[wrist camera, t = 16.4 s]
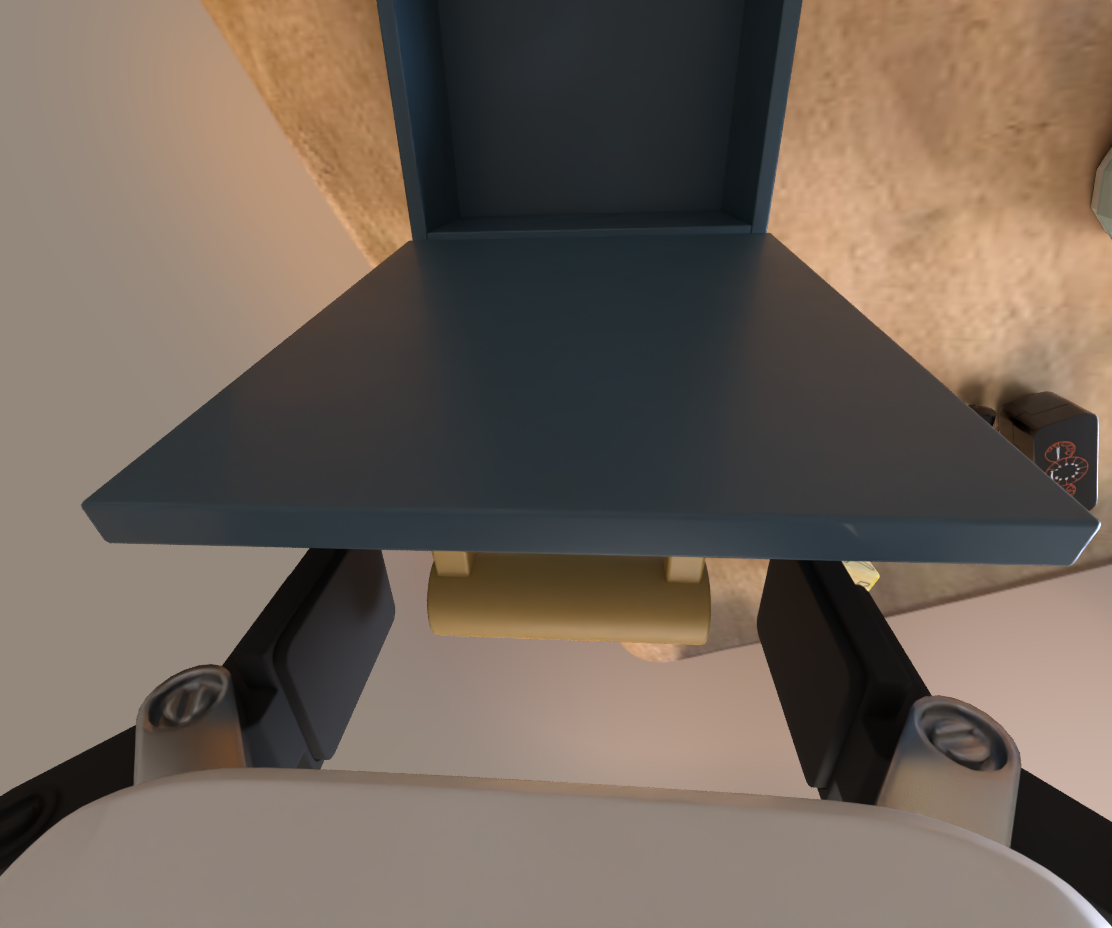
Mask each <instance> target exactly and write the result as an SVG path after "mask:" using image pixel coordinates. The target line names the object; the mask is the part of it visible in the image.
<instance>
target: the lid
mask: <svg viewBox="0 0 1112 928" xmlns="http://www.w3.org/2000/svg"><path fill="white" fill-rule="evenodd" d="M81 506H82V509H83V510H84V512H85V513H86V515H87V516H88V517H89V519H90V520H91V522H92V523H93V525H94V526H95V527H96V529H97V530H98V532H99V533H100V534H101V536H102V537H103V539H104V540H105V541H107V542H109V543H128V544H170V545H172V544H173V545H210V546H251V547H252V546H253V547H292V548H333V549H374V550H415V551H432V554H433V559H434V562H433V565H432V568H431V572H430V577H429V583H428V594H427V611H428V619H429V624H430V628H431V630H432V632H433V633H434V634H436V635H444V636H470V637H497V638H524V639H552V640H578V641H579V640H580V641H607V642H632V643H660V644H687V645H703V644H705V643H706V641H707V638H708V634H709V629H710V619H711V595H710V583H709V576H708V571H707V566H706V563H705V558H743V559H785V560H826V561H867V562H908V563H949V564H990V565H1031V566H1069V565H1072V564H1073V563H1074V562H1075V561H1076V560H1077V558H1078V557H1079V556H1080V554H1081V553H1082V551H1083V550H1084V549H1085V547H1086V546H1087V545H1088V543H1089V542H1090V540H1091V539H1092V538H1093V536H1094V535H1095V534H1096V532H1097V531H1098V529H1099V528H1100V524H1101V523H1100V521H1099V520H1098V519H1097V518H1096V517H1095V516H1094V515H1093V514H1092V513H1090V512H1089V511H1088V510H1087V509H1086V508H1085V507H1084V506H1082V505H1081V504H1080V503H1079V502H1078V501H1077V500H1076V499H1074V498H1073V497H1072V496H1071V495H1070V494H1069V493H1068V492H1066V491H1065V490H1064V489H1063V488H1062V487H1061V486H1060V485H1058V484H1057V483H1056V482H1055V481H1054V480H1053V479H1052V478H1050V477H1049V476H1048V475H1047V474H1046V473H1045V472H1043V471H1042V470H1041V469H1040V468H1039V467H1038V466H1037V465H1035V464H1034V463H1033V462H1032V461H1031V460H1030V459H1029V458H1027V457H1026V456H1025V455H1024V454H1023V453H1022V452H1021V451H1019V450H1018V449H1017V448H1016V447H1015V446H1014V445H1013V444H1011V443H1010V442H1009V441H1008V440H1007V439H1006V438H1005V437H1003V436H1002V435H1001V434H1000V433H999V432H998V431H996V430H995V429H994V428H993V427H992V426H991V425H990V424H988V423H987V422H986V421H985V420H984V419H983V418H982V417H980V416H979V415H978V414H977V413H976V412H975V411H974V410H972V409H971V408H970V407H969V406H968V405H967V404H966V403H964V402H963V401H962V400H961V399H960V398H959V397H958V396H956V395H955V394H954V393H953V392H952V391H951V390H950V389H948V388H947V387H946V386H945V385H944V384H943V383H941V382H940V381H939V380H938V379H937V378H936V377H935V376H933V375H932V374H931V373H930V372H929V371H928V370H927V369H925V368H924V367H923V366H922V365H921V364H920V363H919V362H917V361H916V360H915V359H914V358H913V357H912V356H911V355H909V354H908V353H907V352H906V351H905V350H904V349H903V348H901V347H900V346H899V345H898V344H897V343H896V342H895V341H893V340H892V339H891V338H890V337H889V336H888V335H886V334H885V333H884V332H883V331H882V330H881V329H880V328H878V327H877V326H876V325H875V324H874V323H873V322H872V321H870V320H869V319H868V318H867V317H866V316H865V315H864V314H862V313H861V312H860V311H859V310H858V309H857V308H856V307H854V306H853V305H852V304H851V303H850V302H849V301H848V300H846V299H845V298H844V297H843V296H842V295H841V294H839V293H838V292H837V291H836V290H835V289H834V288H833V287H831V286H830V285H829V284H828V283H827V282H826V281H825V280H823V279H822V278H821V277H820V276H819V275H818V274H817V273H815V272H814V271H813V270H812V269H811V268H810V267H809V266H807V265H806V264H805V263H804V262H803V261H802V260H801V259H799V258H798V257H797V256H796V255H795V254H794V253H793V252H791V251H790V250H789V249H788V248H787V247H786V246H784V245H783V244H782V243H781V242H780V241H779V240H778V239H776V238H775V237H774V236H773V235H772V234H771V233H741V234H695V235H648V236H602V237H556V238H510V239H464V240H418V241H408V242H407V243H406V244H404V245H403V246H402V247H401V248H399V249H398V250H397V251H396V252H394V253H393V254H392V255H391V256H389V257H388V258H387V259H386V260H384V261H383V262H382V263H381V264H379V265H378V266H377V267H376V268H374V269H373V270H372V271H371V272H370V273H368V274H367V275H366V276H364V277H363V278H362V279H361V280H359V281H358V282H357V283H356V284H354V285H353V286H352V287H351V288H349V289H348V290H347V291H346V292H344V293H343V294H342V295H341V296H339V297H338V298H337V299H336V300H334V301H333V302H332V303H331V304H329V305H328V306H327V307H326V308H324V309H323V310H322V311H321V312H319V313H318V314H317V315H316V316H314V317H313V318H312V319H311V320H309V321H308V322H307V323H306V324H304V325H303V326H302V327H301V328H299V329H298V330H297V331H296V332H294V333H293V334H292V335H291V336H289V337H288V338H287V339H286V340H284V341H283V342H282V343H281V344H279V345H278V346H277V347H276V348H274V349H273V350H272V351H271V352H269V353H268V354H267V355H266V356H265V357H263V358H262V359H261V360H259V361H258V362H257V363H256V364H254V365H253V366H252V367H251V368H249V369H248V370H247V371H246V372H244V373H243V374H242V375H241V376H240V377H238V378H237V379H236V380H235V381H233V382H232V383H231V384H229V385H228V386H227V387H226V388H224V389H223V390H222V391H221V392H219V393H218V394H217V395H216V396H214V397H213V398H212V399H211V400H209V401H208V402H207V403H206V404H205V405H203V406H202V407H201V408H199V409H198V410H197V411H196V412H194V413H193V414H192V415H191V416H189V417H188V418H187V419H186V420H184V421H183V422H182V423H181V424H179V425H178V426H177V427H176V428H175V429H173V430H172V431H171V432H169V433H168V434H167V435H166V436H164V437H163V438H162V439H161V440H159V441H158V442H157V443H156V444H155V445H153V446H152V447H151V448H149V449H148V450H147V451H146V452H145V453H143V454H142V455H141V456H139V457H138V458H137V459H136V460H134V461H133V462H132V463H131V464H129V465H128V466H127V467H126V468H124V469H123V470H122V471H121V472H120V473H118V474H117V475H116V476H114V477H113V478H112V479H111V480H109V481H108V482H107V483H106V484H104V485H103V486H102V487H101V488H99V489H98V490H97V491H96V492H94V493H93V494H92V495H91V496H89V497H88V498H87V499H86V500H84V501H83V503H82V504H81Z"/></svg>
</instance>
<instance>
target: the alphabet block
mask: <svg viewBox="0 0 1112 928" xmlns="http://www.w3.org/2000/svg"><path fill="white" fill-rule="evenodd" d="M842 562H843V564H844V566H845V567H846V569H847V571H848V573H849V574H850V576H851V578H852V579H853V581H854V583H855V584H860V585H862V586H863V587H865V588H866V590H867V591H869V590H870V588H871V587H872V586H873V585H874V583H875V582H876V581H877V580H878V578H879V574H878V572H877V571H876V570H875V568H874V567H873V566H872V564H871V563H870V562H867V561H842Z"/></svg>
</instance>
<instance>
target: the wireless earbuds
mask: <svg viewBox="0 0 1112 928" xmlns="http://www.w3.org/2000/svg"><path fill="white" fill-rule="evenodd" d="M968 406H969V407H970V408H971V409H972V410H974V411H975V412H976V413H977V414H978V415H979V416H980V417H982V418H983V419H984V420H985V421H986V422H987V423H988V424H990V425H991V426H992V427H993V424H994V420H995V417H996V412H995V411H994V410H993V409H992V408H989V407H984V406H977V407H975V405H974V404H973V405H968ZM998 417H999V429H1000V434H1001V435H1002V436H1003V437H1005V438H1006V439H1007V440H1008V441H1009V442H1010V443H1011V444H1013V445H1014V446H1015V447H1016V448H1017V449H1018V450H1019V451H1021V452H1022V453H1023V454H1024V455H1025V456H1026V457H1027V458H1029V459H1030V460H1031V461H1032V462H1033V463H1034V464H1035V465H1037V466H1038V467H1039V468H1040V469H1041V470H1042V471H1043V472H1045V473H1046V474H1047V475H1048V476H1049V477H1050V478H1052V479H1053V480H1054V481H1055V482H1056V483H1057V484H1058V485H1060V486H1061V487H1062V488H1063V489H1064V490H1065V491H1066V492H1068V493H1069V494H1070V495H1071V496H1072V497H1073V498H1074V499H1076V500H1077V501H1078V502H1079V503H1080V504H1081V505H1082V506H1084V507H1085V508H1086V509H1087V510H1088V511H1089V510H1091V509H1092V508H1093V507H1095V505H1096V504H1097V484H1098V417H1097V416H1096V415H1095V414H1093V413H1091V412H1089V411H1087V410H1086V409H1084V408H1082V407H1080V406H1078V405H1076V404H1074V403H1072V402H1071V401H1069V400H1067V399H1065V398H1063V397H1061V396H1059V395H1057V394H1055V393H1053V392H1040V393H1037V394H1034V395H1031V396H1028V397H1025V398H1022V399H1018V400H1015V401H1012V402H1009V403H1007V404H1005V405H1003V406H1002V407H1001V408H1000V410H999V413H998Z"/></svg>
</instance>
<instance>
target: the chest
mask: <svg viewBox="0 0 1112 928" xmlns="http://www.w3.org/2000/svg"><path fill="white" fill-rule="evenodd" d="M376 1H377V8H378V14H379V21H380V27H381V34H382V40H383V47H384V54H385V60H386V67H387V73H388V80H389V87H390V93H391V100H392V106H393V113H394V120H395V126H396V133H397V139H398V146H399V153H400V159H401V166H402V172H403V179H404V186H405V192H406V199H407V205H408V212H409V219H410V225H411V232H412V238H413V241H418V240H464V239H510V238H556V237H602V236H648V235H695V234H741V233H767V227H768V221H769V214H770V208H771V201H772V195H773V189H774V182H775V176H776V169H777V163H778V156H779V150H780V143H781V137H782V130H783V124H784V117H785V111H786V104H787V98H788V92H789V85H790V79H791V72H792V66H793V59H794V53H795V46H796V40H797V33H798V27H799V20H800V14H801V7H802V1H803V0H376Z"/></svg>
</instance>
